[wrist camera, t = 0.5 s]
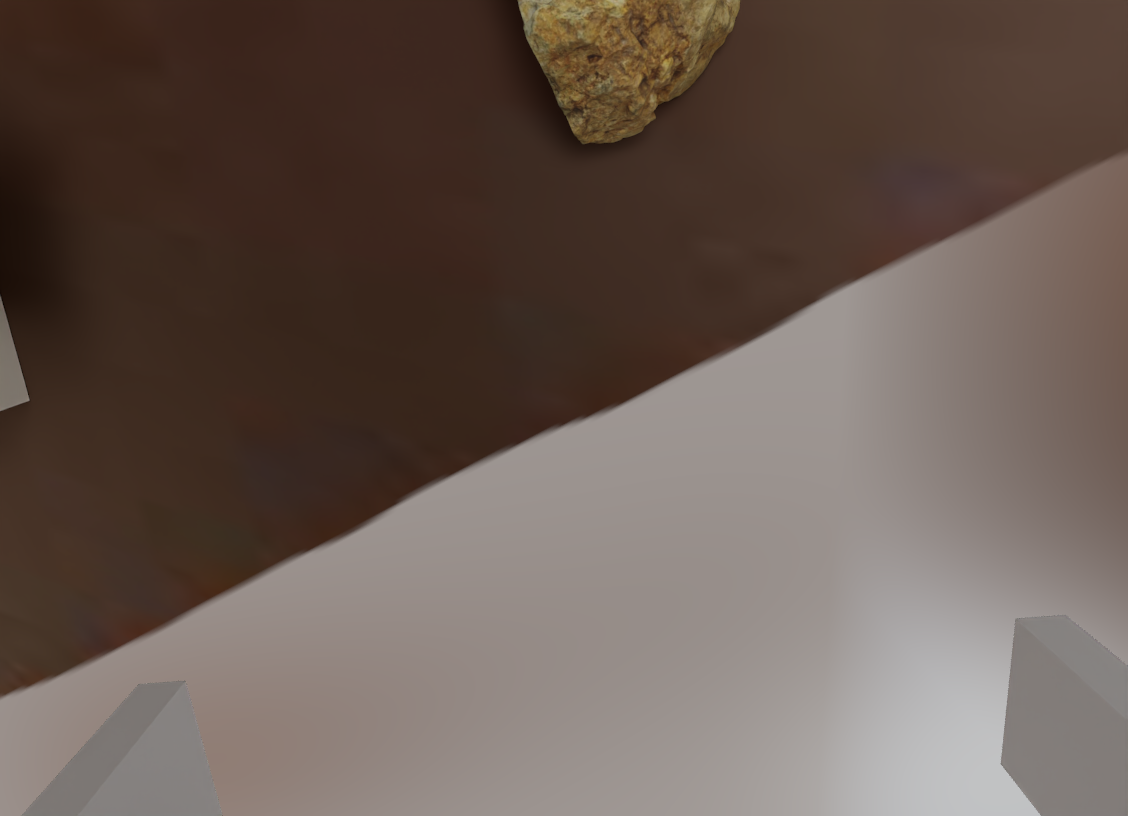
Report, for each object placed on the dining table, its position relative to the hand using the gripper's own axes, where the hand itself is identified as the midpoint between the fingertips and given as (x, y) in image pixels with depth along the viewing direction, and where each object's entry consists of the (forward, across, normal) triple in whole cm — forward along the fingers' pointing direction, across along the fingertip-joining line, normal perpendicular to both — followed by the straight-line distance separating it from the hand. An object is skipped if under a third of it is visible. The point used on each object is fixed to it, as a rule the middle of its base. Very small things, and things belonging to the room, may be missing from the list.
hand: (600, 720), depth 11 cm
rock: (+28, +3, +18) cm, 33 cm away
